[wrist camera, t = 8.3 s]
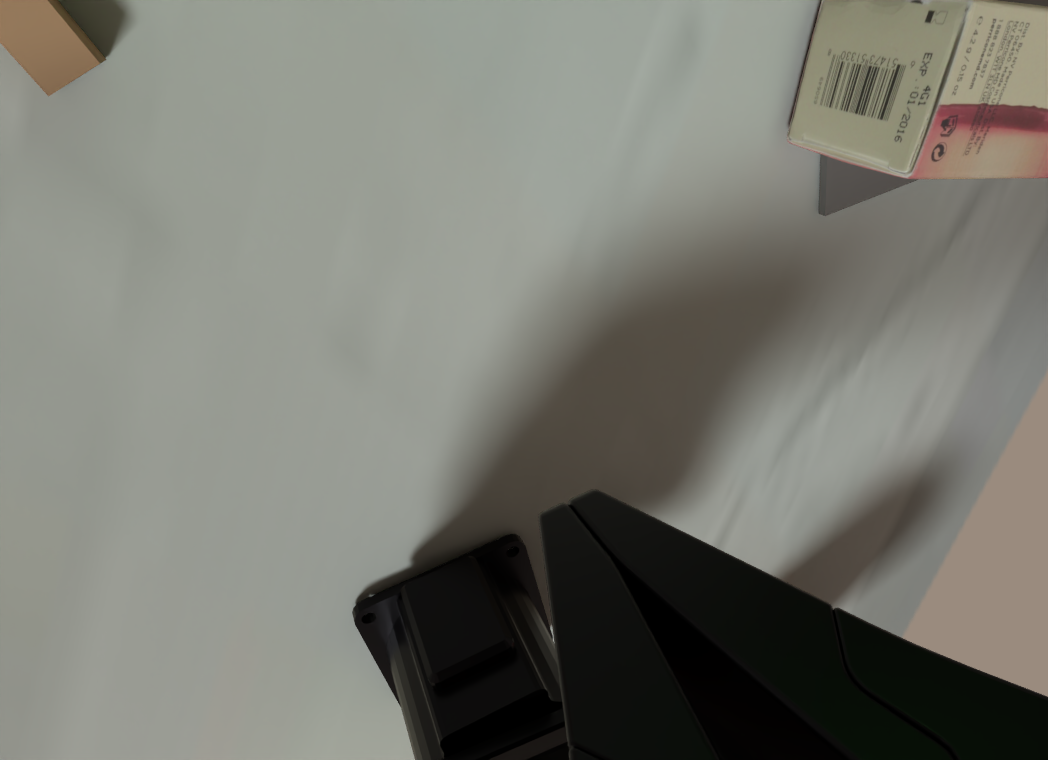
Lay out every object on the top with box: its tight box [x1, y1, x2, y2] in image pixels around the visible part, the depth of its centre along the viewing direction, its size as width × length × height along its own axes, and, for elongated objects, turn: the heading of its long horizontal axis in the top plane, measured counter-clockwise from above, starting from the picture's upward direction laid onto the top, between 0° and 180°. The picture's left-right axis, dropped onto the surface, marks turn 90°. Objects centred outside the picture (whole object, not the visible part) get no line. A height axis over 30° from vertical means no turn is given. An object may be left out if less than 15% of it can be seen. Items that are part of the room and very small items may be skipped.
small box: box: [787, 0, 1048, 179], centre depth 20 cm, size 5×4×8 cm
